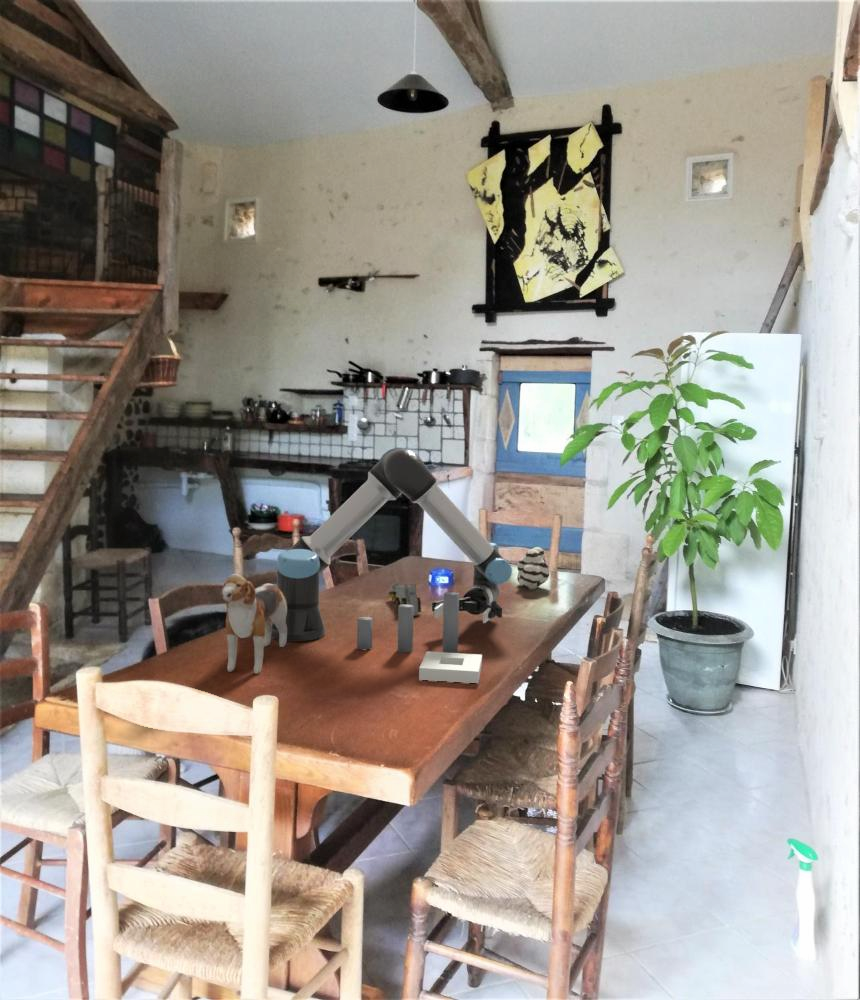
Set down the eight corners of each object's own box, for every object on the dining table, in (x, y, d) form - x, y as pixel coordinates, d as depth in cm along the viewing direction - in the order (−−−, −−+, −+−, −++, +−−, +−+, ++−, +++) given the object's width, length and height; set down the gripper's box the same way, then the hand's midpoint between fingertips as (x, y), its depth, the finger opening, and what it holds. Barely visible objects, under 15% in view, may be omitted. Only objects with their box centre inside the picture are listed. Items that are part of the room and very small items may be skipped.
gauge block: (419, 680, 190) (419, 667, 190) (426, 662, 204) (426, 651, 204) (478, 684, 188) (478, 671, 188) (481, 666, 202) (482, 654, 202)
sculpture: (519, 582, 312) (520, 543, 310) (551, 584, 309) (553, 545, 307) (511, 593, 290) (513, 552, 289) (546, 596, 287) (547, 554, 286)
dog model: (204, 687, 182) (204, 577, 179) (265, 639, 222) (266, 549, 219) (245, 690, 180) (245, 579, 178) (299, 641, 221) (300, 551, 218)
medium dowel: (396, 652, 213) (397, 607, 212) (398, 647, 217) (399, 604, 216) (411, 653, 212) (412, 608, 211) (413, 648, 216) (414, 604, 215)
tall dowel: (441, 654, 211) (443, 594, 210) (443, 650, 215) (444, 591, 214) (456, 655, 211) (458, 595, 209) (458, 651, 215) (459, 592, 213)
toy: (404, 615, 251) (404, 583, 252) (388, 613, 274) (387, 583, 275) (421, 615, 253) (421, 583, 254) (403, 612, 275) (403, 583, 276)
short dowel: (355, 649, 214) (356, 620, 213) (358, 645, 218) (359, 616, 217) (370, 650, 214) (370, 620, 213) (373, 646, 218) (373, 617, 217)
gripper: (518, 616, 236) (504, 633, 216) (436, 608, 243) (415, 624, 223) (519, 591, 236) (505, 606, 215) (437, 584, 243) (416, 598, 223)
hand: (459, 615), depth 219 cm, fingers open, 13 cm apart
